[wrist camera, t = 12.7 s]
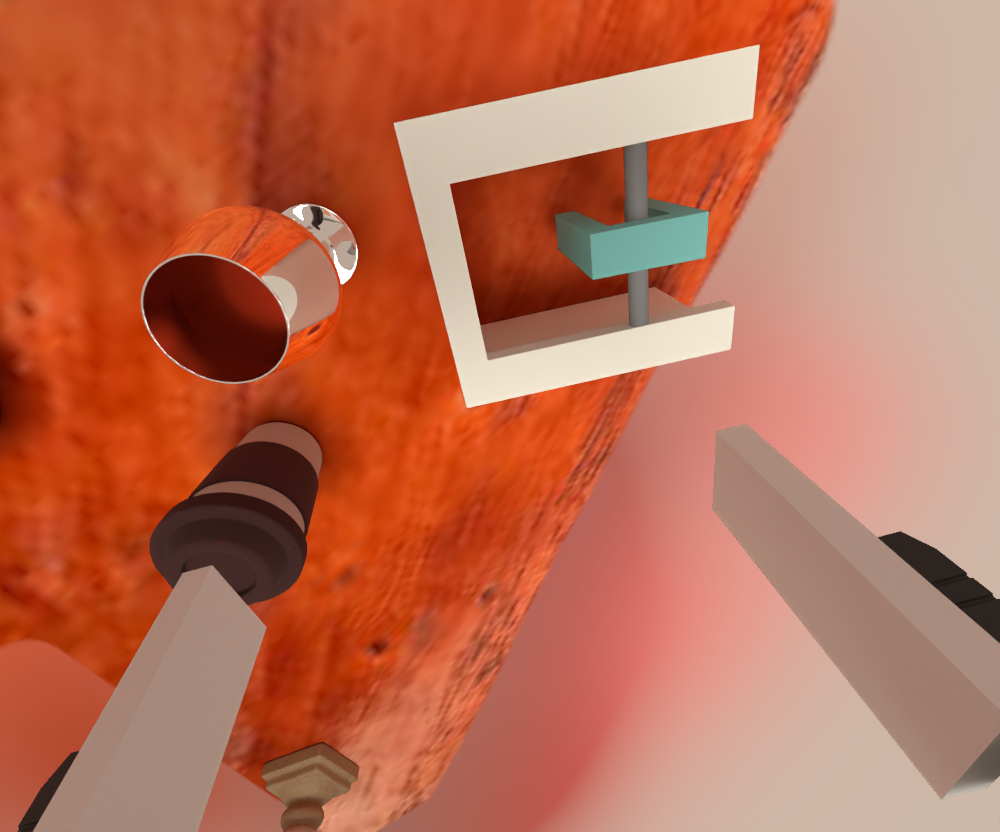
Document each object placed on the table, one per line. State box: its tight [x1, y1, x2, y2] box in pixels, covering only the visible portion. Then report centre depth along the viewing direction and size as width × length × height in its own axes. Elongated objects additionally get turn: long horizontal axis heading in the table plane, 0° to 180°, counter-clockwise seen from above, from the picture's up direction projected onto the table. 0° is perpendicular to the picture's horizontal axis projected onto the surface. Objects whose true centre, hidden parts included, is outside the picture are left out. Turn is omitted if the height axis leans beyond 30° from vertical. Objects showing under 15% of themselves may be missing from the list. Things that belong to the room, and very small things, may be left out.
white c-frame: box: [394, 45, 760, 408], centre depth 30 cm, size 16×18×12 cm
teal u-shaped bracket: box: [555, 198, 709, 280], centre depth 28 cm, size 2×6×9 cm, turn 100°
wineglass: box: [141, 203, 358, 384], centre depth 27 cm, size 8×8×18 cm
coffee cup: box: [150, 422, 322, 605], centre depth 36 cm, size 10×10×15 cm
